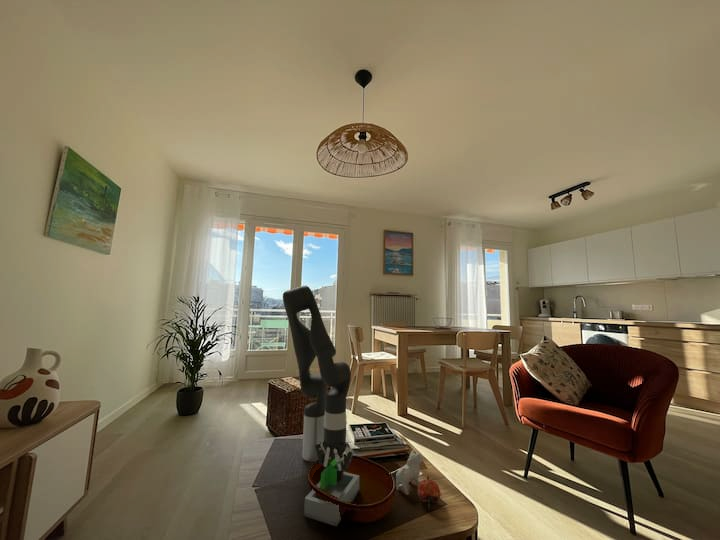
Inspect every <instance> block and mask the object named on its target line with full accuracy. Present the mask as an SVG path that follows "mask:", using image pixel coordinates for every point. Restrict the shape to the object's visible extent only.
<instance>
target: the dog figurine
mask: <svg viewBox="0 0 720 540" xmlns="http://www.w3.org/2000/svg"><path fill="white" fill-rule="evenodd" d="M408 456H409V457H408V458H407V462H406V464H404V466H402V467H403V468H402V467H401V468H402V469H400V468H398V469H399V470H398V469H397V470H398V472H397V474H396V487H397V488H396V490H397V491H399V490H400V487H399V485H400V483H401V484H402V487H403V488H404V494H405V495H406V496H408V495H410V491H409V483H411V481H413V480H414V483H415V486H416V487H417V488H418V485H419V483H420V482H419V477H420V476H419V474H420V472H421V469H420V468H421V467H420V464H421V463H422V462H423V456H422V454H421V453H419V452H417V453H415V450H413V449H412V450H411V452H410V454H409V455H408Z"/></svg>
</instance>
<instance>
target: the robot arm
mask: <svg viewBox="0 0 720 540" xmlns="http://www.w3.org/2000/svg"><path fill="white" fill-rule="evenodd" d="M282 301H283V306H284V309H285V314H286V317H287V320H288V323H289V328H290V333H291V339H292V344H293V349H294V353H295V358H296V362H297V368H298V374H299V375H298V376H299V384H300V392H301V394H302V396H304V397H307V398H313V399H314V398H316V401H314V402H313V403H309V404H307V405H305V406H304V409H303V431H302V432H303V435H302V456H301V457H302V459H303V460H304V461H307V462H318V463H319V464H321V465H323V467H324V468H323V470H324V469H325V468H326V467H327V466H328V465H329V464H330V463H331V462H332V461H331V460H332V458H333V459H336V463H337V466H338V470H337V482H340V481H341V480H342V479H343V473H344V472H345V471H346V470H347V469H348V468H349V466H350V464H351V463H352V458H353V457H354V453H355V449H354V448H349V447H348V445H347V442H346V440H347V424H348V423H347V422H348V421H347V396H348V391H349V388H350V383H351V378H352V372H351V369H350V366H349V364H347V363H346V362H344V361H338V362H335V361H334V359H333V357H335V355H336V353H337V350H336V347H335V345H334V343H333V341H332V339H331V337H330V335H329V334H328V330H327V329H326V326H325V324H324V321H323V317H322V315H321V311H320V309H319V307H318V303H317V301H316V297H315V296H314V293H313V291H312V290H311V288H310V286H308V285H306V284H305V285H301V286H298V287H294V288H291V289H289V290H285V291H284V292H283V294H282ZM307 310H309V313H310V317H311V318H310V328H308V327H307V326H306V325H304V324H303V323H302V321H300V319H299V318H298V313H300V312H304V311H307ZM315 359H317V364H318V369H319V373H320V374H311V370H310V368H311V366H312V364H313V362H315ZM328 387H331V389H330V390H329V391H328ZM344 453H345V456H344ZM345 457H346V458H345ZM317 460H319V461H317ZM344 460H345V461H344Z"/></svg>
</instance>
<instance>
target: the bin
mask: <svg viewBox="0 0 720 540" xmlns="http://www.w3.org/2000/svg"><path fill="white" fill-rule="evenodd" d="M315 486H317V487H318V488H320V489H321V480H319V482H318V483H316V485H315ZM322 490H324V491H327V492H328V493H329V494H331V495H333V496H335V497H337V498H338V500H340V501H345V502H352V503H353V501H354V499H355V498H356V497H357V495H358V494H357V493H359V492H360V475H359V474H354V473H350V472H347V471H344V473H343V479H342V480H341V481H340V482H337V484H336V486H335V485H331V484H328V485H327V486H326V487H325V488H324V489H322ZM358 491H359V492H358ZM303 503H304V505H303V507H304V510H303V516H304V517H305V518H309V519H312V520H316V521H318V522H322V523H324V524H328V525H330V526H334V527H338V525H339V523H340V522H341V520H342V519H341V517H340V512H339V505H336V504H333V503H331V502H328V501H324V500H321V499H318V498H316V492H315V491H314V490H313V489H311V490H310V491H309V493H308V494H307V495H306V496H305V498H304V502H303Z"/></svg>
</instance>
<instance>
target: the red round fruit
mask: <svg viewBox="0 0 720 540" xmlns="http://www.w3.org/2000/svg"><path fill="white" fill-rule="evenodd" d="M417 495H418V497H419V499H420V501H421V502H422V503H428V508H430V506H431V505H430V503H431V504H437V503H438V501H439V500H440V499H441V489H440V487H439V485H438V483H437V482H436V481H434V480H433V479H430V477H429V475H427V476H426V479H423V480H422V481H420V482H419V485H418V487H417Z"/></svg>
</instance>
